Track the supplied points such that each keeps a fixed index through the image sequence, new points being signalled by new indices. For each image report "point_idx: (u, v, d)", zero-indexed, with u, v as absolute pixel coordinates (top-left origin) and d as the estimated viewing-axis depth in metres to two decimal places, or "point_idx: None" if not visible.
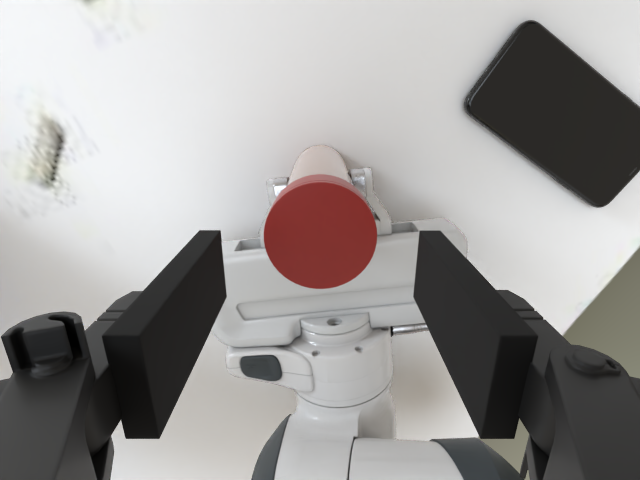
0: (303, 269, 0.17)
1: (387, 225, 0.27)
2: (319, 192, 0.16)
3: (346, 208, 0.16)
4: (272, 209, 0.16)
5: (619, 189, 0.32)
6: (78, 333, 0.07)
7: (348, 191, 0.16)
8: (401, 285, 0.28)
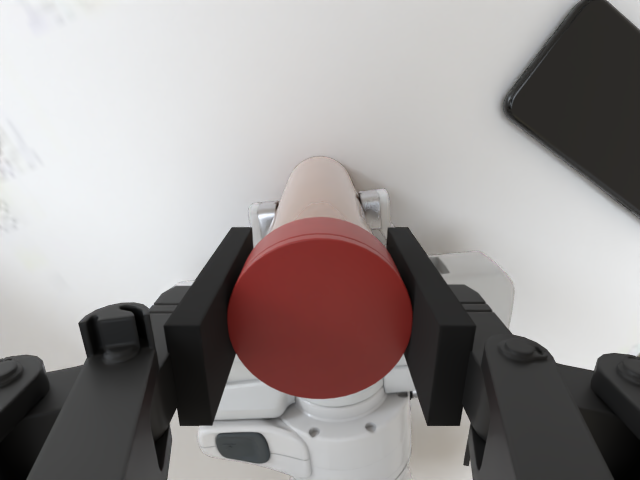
0: (292, 371, 0.11)
1: None
2: (318, 255, 0.09)
3: (363, 280, 0.10)
4: (239, 281, 0.10)
5: None
6: (146, 324, 0.07)
7: (367, 253, 0.09)
8: None
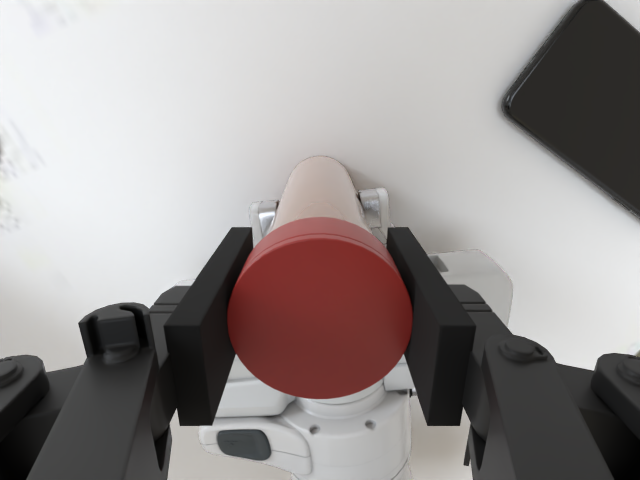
0: (360, 363, 0.11)
1: None
2: (245, 304, 0.10)
3: (283, 275, 0.10)
4: (251, 371, 0.11)
5: None
6: (146, 324, 0.07)
7: (256, 263, 0.10)
8: None
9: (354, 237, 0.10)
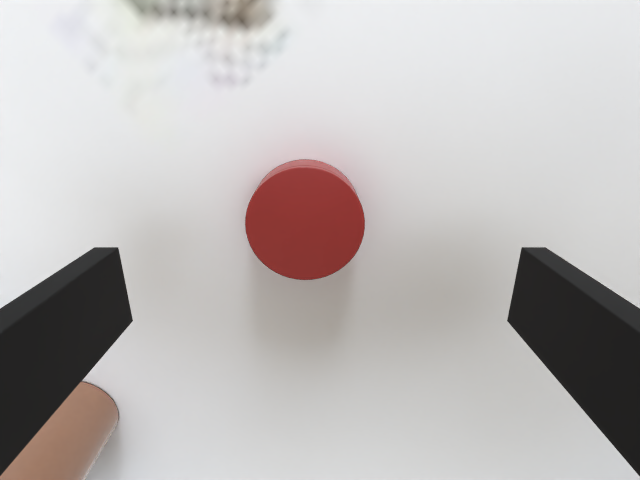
0: (332, 253, 0.16)
1: None
2: (257, 212, 0.16)
3: (281, 191, 0.15)
4: (261, 259, 0.16)
5: None
6: None
7: (264, 184, 0.15)
8: None
9: (326, 168, 0.16)
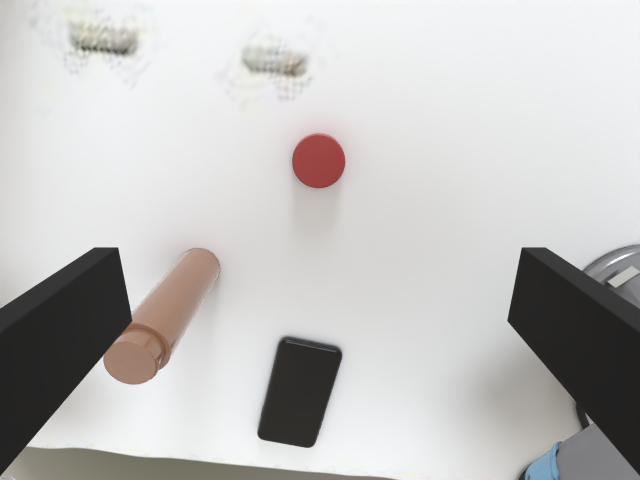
0: (330, 175, 0.37)
1: None
2: (297, 155, 0.36)
3: (308, 145, 0.36)
4: (298, 177, 0.37)
5: (273, 440, 0.49)
6: None
7: (301, 142, 0.36)
8: None
9: (328, 136, 0.36)
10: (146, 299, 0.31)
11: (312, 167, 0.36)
